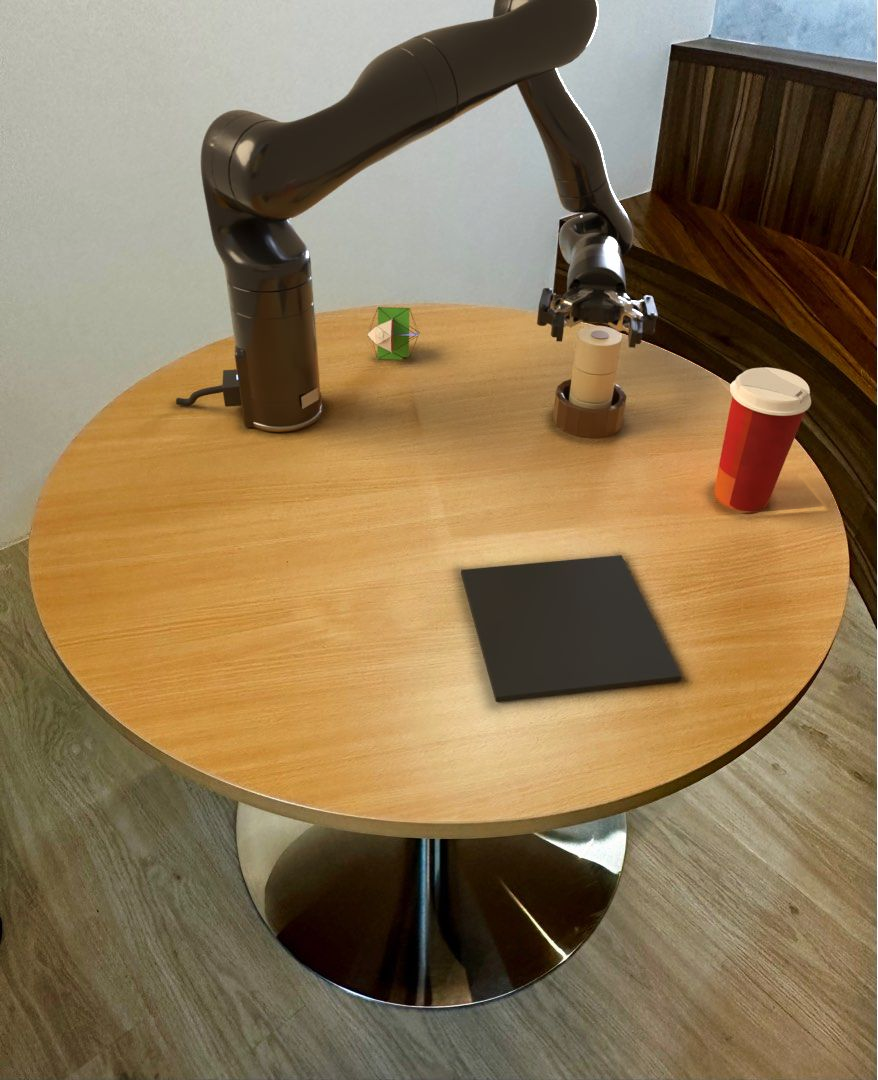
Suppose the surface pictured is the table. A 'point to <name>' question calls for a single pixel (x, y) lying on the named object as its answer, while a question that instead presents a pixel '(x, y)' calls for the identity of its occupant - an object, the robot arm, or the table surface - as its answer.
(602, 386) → the tape stack
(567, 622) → the rubber mat
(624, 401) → the ring
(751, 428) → the paper cup
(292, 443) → the table surface
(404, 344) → the geometric puzzle
